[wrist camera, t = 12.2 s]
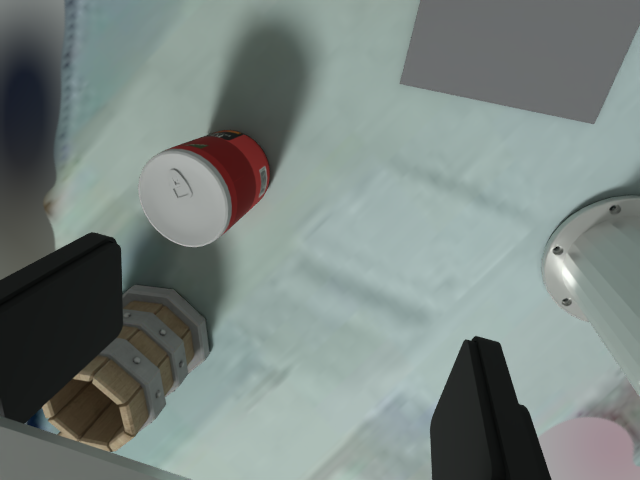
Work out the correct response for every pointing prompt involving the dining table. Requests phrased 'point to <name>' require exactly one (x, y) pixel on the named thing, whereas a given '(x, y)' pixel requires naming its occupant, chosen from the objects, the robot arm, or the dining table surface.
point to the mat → (523, 52)
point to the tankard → (132, 371)
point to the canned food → (203, 186)
